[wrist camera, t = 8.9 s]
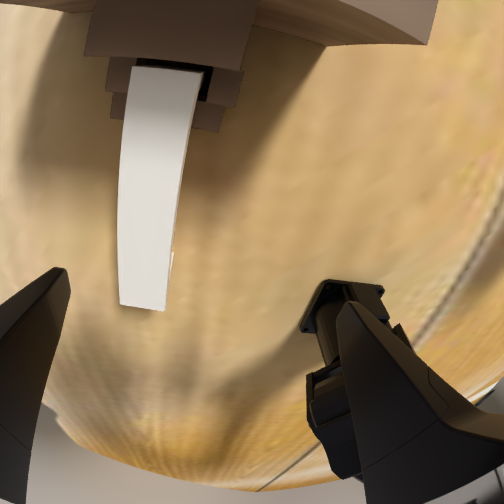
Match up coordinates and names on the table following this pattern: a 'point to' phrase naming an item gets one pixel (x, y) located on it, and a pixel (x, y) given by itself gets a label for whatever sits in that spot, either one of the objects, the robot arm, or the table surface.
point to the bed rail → (152, 178)
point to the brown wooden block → (230, 35)
